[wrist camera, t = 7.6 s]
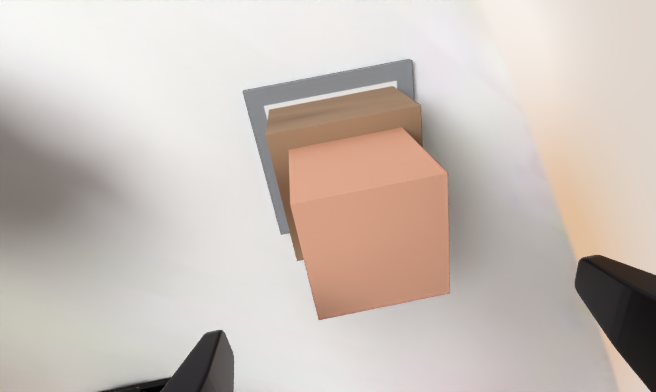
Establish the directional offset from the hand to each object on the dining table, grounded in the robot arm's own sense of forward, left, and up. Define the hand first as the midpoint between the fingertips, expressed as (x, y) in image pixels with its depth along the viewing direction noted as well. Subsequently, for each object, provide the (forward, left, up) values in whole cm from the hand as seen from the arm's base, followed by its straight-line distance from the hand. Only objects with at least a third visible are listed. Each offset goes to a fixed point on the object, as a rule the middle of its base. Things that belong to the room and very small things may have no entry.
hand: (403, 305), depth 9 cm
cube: (0, 0, -7) cm, 7 cm away
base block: (0, 0, -11) cm, 11 cm away
